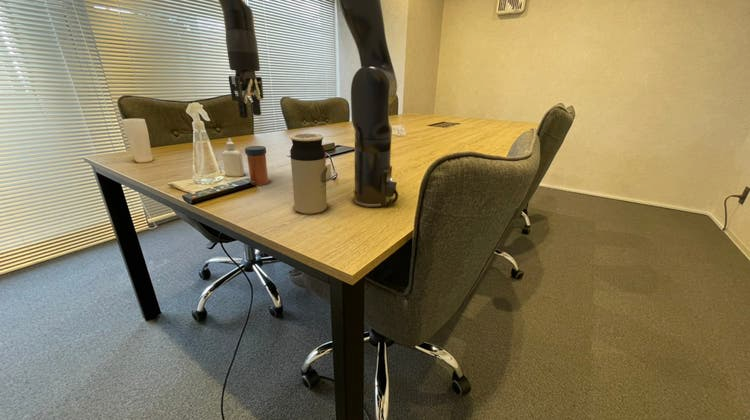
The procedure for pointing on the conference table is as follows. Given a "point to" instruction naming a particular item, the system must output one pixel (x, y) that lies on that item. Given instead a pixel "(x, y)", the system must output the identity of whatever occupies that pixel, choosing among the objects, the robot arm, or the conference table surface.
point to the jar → (258, 169)
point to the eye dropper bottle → (232, 160)
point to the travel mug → (308, 173)
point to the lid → (255, 150)
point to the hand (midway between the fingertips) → (251, 116)
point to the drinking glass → (138, 139)
